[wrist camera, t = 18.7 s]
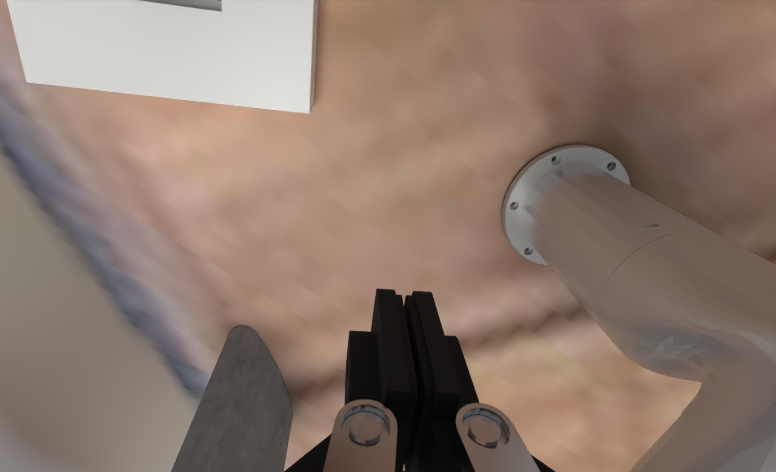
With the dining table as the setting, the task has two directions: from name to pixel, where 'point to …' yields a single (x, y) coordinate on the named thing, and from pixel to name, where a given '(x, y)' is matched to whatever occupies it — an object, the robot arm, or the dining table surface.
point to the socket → (174, 48)
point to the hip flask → (240, 413)
